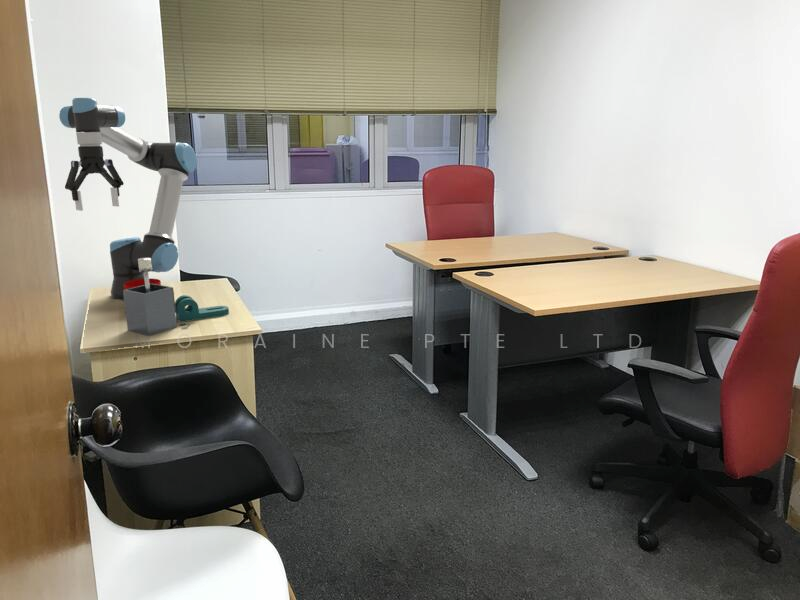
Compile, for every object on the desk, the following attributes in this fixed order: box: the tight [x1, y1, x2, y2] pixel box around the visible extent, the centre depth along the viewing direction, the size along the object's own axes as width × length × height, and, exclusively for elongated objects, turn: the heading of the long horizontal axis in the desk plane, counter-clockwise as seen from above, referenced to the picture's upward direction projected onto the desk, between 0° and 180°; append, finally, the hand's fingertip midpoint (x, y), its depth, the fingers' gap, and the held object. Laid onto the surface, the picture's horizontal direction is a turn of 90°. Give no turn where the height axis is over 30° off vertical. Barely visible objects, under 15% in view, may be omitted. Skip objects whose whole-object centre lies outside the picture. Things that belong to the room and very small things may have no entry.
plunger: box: [138, 258, 152, 293], centre depth 209 cm, size 9×9×17 cm
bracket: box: [175, 294, 230, 323], centre depth 226 cm, size 18×7×8 cm, turn 120°
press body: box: [123, 283, 177, 337], centre depth 212 cm, size 15×11×14 cm
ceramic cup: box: [124, 278, 162, 290], centre depth 236 cm, size 13×17×10 cm
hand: (98, 208), depth 219 cm, fingers open, 13 cm apart
